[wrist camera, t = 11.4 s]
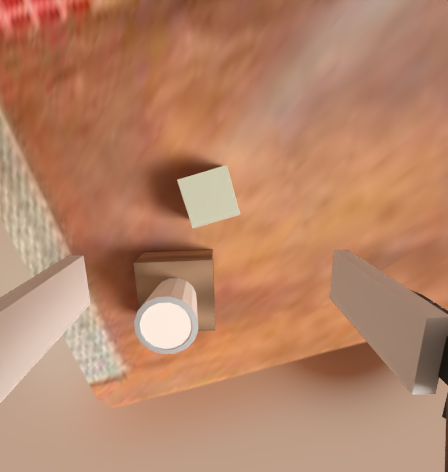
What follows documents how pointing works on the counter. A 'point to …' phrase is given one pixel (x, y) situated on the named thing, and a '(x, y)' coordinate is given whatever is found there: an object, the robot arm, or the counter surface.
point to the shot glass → (168, 317)
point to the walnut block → (184, 267)
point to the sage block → (209, 196)
